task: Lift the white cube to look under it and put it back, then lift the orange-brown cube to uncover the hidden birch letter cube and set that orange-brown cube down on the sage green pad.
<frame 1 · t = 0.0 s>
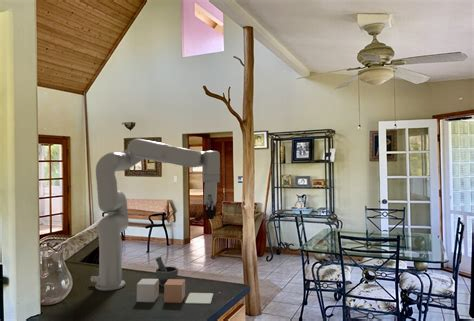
hand: (211, 217, 162), 31 cm above the counter, tool pointing down, fingers open, 9 cm apart
mortar and pestle: (165, 284, 167), on the counter
white cube: (148, 298, 149), on the counter
birch letter cube: (174, 294, 149), in the orange-brown cube
orange-brown cube: (174, 299, 149), on the counter
sage pad: (199, 298, 149), on the counter
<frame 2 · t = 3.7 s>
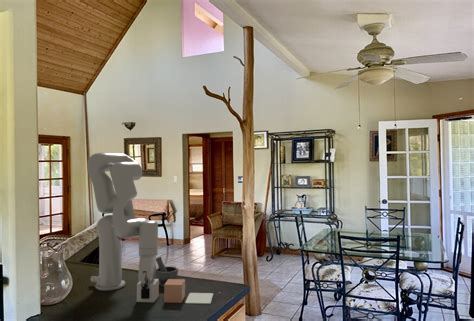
hand: (148, 294, 149), 2 cm above the counter, tool pointing down, fingers closed on white cube, 7 cm apart
white cube: (148, 298, 149), on the counter, touching gripper
everything else where it was.
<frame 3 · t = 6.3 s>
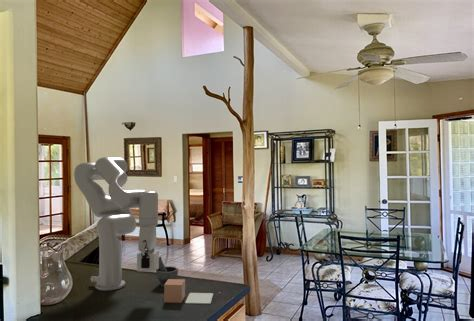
hand: (148, 264, 149), 14 cm above the counter, tool pointing down, fingers closed on white cube, 7 cm apart
white cube: (148, 268, 149), point 12 cm above the counter, touching gripper
everything else where it was.
when the fingers open (3 cm above the counter, at t = 9.2 s): white cube drops 1 cm, on the counter.
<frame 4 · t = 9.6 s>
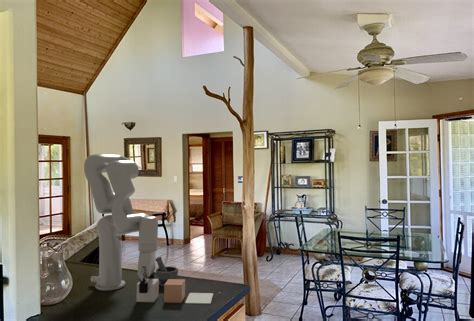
hand: (146, 288, 150), 4 cm above the counter, tool pointing down, fingers open, 9 cm apart
white cube: (147, 298, 149), on the counter
everything else where it was.
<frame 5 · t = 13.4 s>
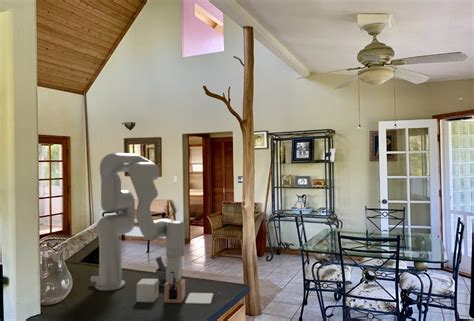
hand: (175, 295, 149), 2 cm above the counter, tool pointing down, fingers closed on orange-brown cube, 7 cm apart
orange-brown cube: (174, 299, 149), on the counter, touching gripper
everything else where it was.
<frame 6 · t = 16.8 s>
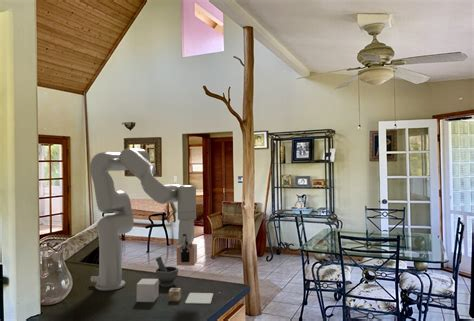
hand: (187, 259, 149), 16 cm above the counter, tool pointing down, fingers closed on orange-brown cube, 7 cm apart
orange-brown cube: (187, 263, 149), point 15 cm above the counter, touching gripper
everything else where it was.
when the fingers open (3 cm above the counter, at t = 20.2 s): orange-brown cube drops 1 cm, resting on sage pad.
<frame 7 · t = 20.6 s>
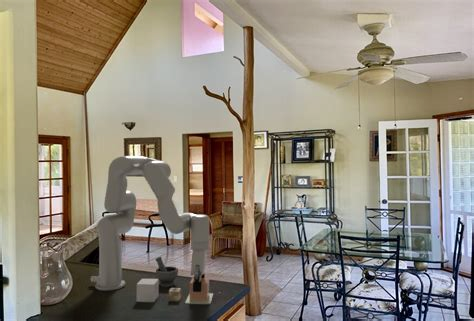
hand: (198, 287, 149), 5 cm above the counter, tool pointing down, fingers open, 9 cm apart
orange-brown cube: (199, 297, 149), resting on sage pad
everything else where it was.
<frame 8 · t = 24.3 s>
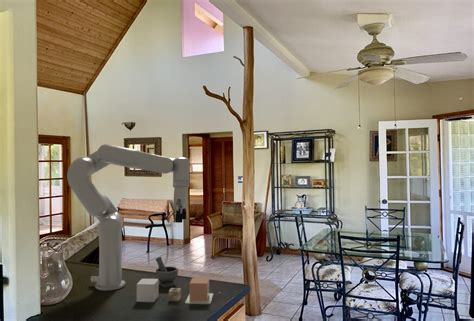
hand: (180, 220, 171), 28 cm above the counter, tool pointing down, fingers open, 9 cm apart
nothing on the counter moved.
at the end: orange-brown cube 0.1 cm off-centre on the sage pad, point 0.4 cm above the sage pad's base; orange-brown cube tilted 0°; white cube moved 0.1 cm from its start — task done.
